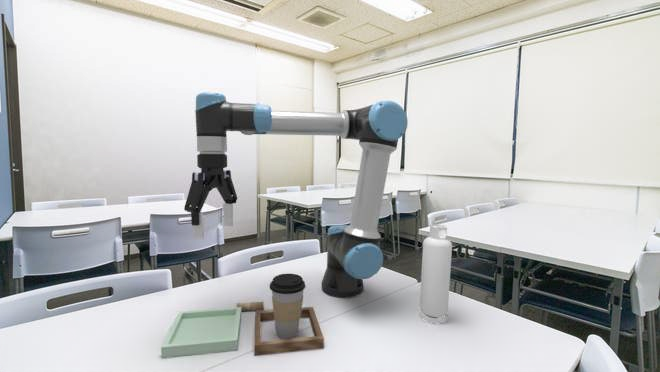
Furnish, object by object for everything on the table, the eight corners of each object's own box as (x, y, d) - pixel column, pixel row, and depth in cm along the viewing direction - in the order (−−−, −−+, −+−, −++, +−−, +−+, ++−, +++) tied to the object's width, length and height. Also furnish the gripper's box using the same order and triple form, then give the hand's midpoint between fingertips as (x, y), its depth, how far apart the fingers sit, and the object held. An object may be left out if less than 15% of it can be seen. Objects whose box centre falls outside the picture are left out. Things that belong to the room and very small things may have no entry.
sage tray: (241, 315, 94) (241, 306, 94) (237, 350, 78) (237, 340, 77) (179, 320, 90) (179, 311, 90) (161, 357, 74) (161, 347, 74)
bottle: (436, 309, 101) (441, 222, 98) (453, 322, 93) (459, 228, 91) (413, 312, 99) (418, 223, 96) (429, 325, 91) (435, 229, 88)
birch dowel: (263, 305, 100) (263, 299, 99) (263, 311, 98) (263, 305, 97) (237, 307, 98) (236, 301, 97) (236, 313, 96) (236, 307, 95)
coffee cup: (298, 345, 80) (299, 288, 79) (263, 340, 82) (263, 284, 80) (308, 325, 89) (309, 274, 88) (276, 321, 91) (277, 270, 90)
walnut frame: (312, 314, 96) (312, 306, 95) (323, 348, 79) (323, 338, 79) (255, 319, 92) (255, 311, 92) (254, 355, 76) (254, 345, 75)
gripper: (226, 153, 98) (227, 220, 100) (165, 152, 74) (169, 242, 76) (248, 153, 96) (249, 222, 98) (193, 153, 72) (196, 244, 74)
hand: (214, 231), depth 87 cm, fingers open, 13 cm apart
